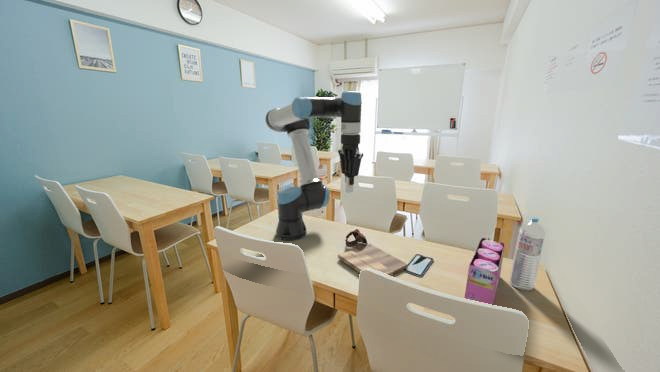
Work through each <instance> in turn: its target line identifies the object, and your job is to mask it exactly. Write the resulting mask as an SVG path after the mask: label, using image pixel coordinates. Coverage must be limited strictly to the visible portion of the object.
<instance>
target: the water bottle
mask: <svg viewBox="0 0 660 372" xmlns="http://www.w3.org/2000/svg"><path fill="white" fill-rule="evenodd" d="M538 222H539V218H537V217H531V219H530V222H526V223H524V224H523V225H522V226H520V227H519V231H518V232H519V234H518V239H517V244H516V248H515V253H514V258H513V262H512V268H511V273H510V279H509V281H510V284H511V285H512V286H513V287H514V288H515V289H516V288H517V289H518V290H521V291H528V292H530V291H532V290H533V289H534V287H535V283H536V279H537V274H538V270H539V264H540V260H541V255H542V254H541V253H542V250H543V246H544V241H545V238H546V231H545V229H544V227H543V226H541V224H539V223H538Z"/></svg>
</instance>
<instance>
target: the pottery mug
mask: <svg viewBox="0 0 660 372" xmlns="http://www.w3.org/2000/svg"><path fill="white" fill-rule="evenodd" d="M350 236H352V237H354V240H352V241H349V240H348V239H349V238H350ZM344 241H345V246H346V247H348V248H353V247H357V248H359V244H358V243H361V244H365V246H366V245H368V244H369V243H368V240H367V238H366V236H365V235H364V234H363V233H361V231H360V229H357V228H356V229H354V230H352V231H350V232H349V233H347V234H346V236H345V240H344Z"/></svg>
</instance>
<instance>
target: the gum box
mask: <svg viewBox="0 0 660 372" xmlns="http://www.w3.org/2000/svg"><path fill="white" fill-rule="evenodd" d="M505 248H506V243H505V242H503V241H501V242H500V243H499V242H496V241H494V240H488V239H487V238H486V237H482V238H480V240H479V242H478V245H477V247H476V251H475V252H474V255H473V257H472V258H471V261H470V263H469V266H468V272H467V278H466V285H465V292H464V298H466V299H470V300H475V301H479V302H484V303H488V304H493V305H494V300H495V297H496V293H497V290H498V286H499V285H498V284H499V282H500V278H501V273H502V272H501V270H502V267H503V261H504V254H505V253H504V252H505Z"/></svg>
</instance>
